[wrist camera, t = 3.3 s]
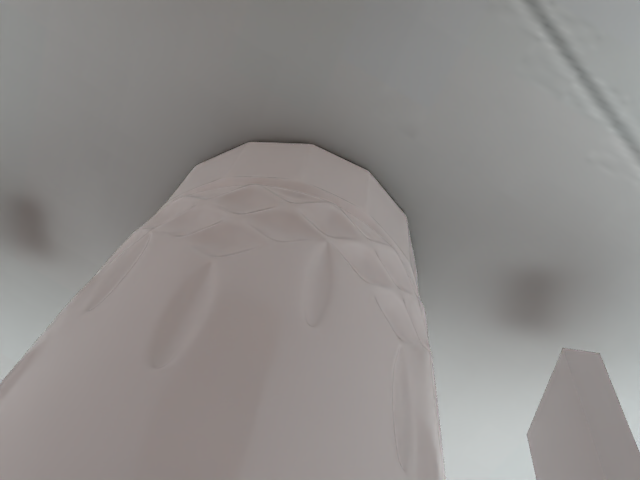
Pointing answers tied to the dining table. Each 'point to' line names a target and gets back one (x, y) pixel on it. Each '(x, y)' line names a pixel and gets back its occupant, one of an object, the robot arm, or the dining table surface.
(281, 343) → the white cup
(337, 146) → the dining table surface
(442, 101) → the dining table surface
